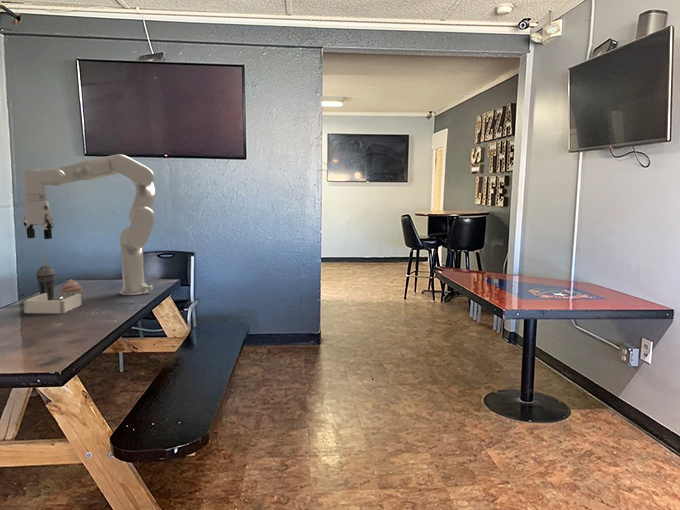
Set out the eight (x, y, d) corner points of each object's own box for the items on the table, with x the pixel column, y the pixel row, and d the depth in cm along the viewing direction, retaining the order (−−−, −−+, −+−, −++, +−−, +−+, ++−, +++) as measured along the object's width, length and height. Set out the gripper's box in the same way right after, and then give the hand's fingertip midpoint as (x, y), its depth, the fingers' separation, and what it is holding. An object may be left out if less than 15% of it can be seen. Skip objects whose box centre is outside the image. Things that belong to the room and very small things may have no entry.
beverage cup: (33, 301, 215) (30, 256, 212) (48, 298, 222) (45, 254, 219) (46, 303, 213) (43, 257, 210) (60, 299, 220) (57, 255, 217)
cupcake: (74, 303, 212) (73, 281, 211) (55, 302, 214) (53, 280, 212) (88, 299, 221) (87, 277, 220) (70, 298, 223) (68, 276, 221)
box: (81, 305, 210) (80, 293, 209) (63, 313, 196) (62, 301, 195) (45, 304, 210) (44, 293, 209) (24, 313, 196) (23, 300, 195)
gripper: (59, 198, 208) (62, 238, 210) (29, 197, 213) (32, 236, 216) (43, 198, 201) (47, 240, 203) (12, 198, 206) (16, 238, 209)
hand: (39, 238), depth 210 cm, fingers open, 9 cm apart
